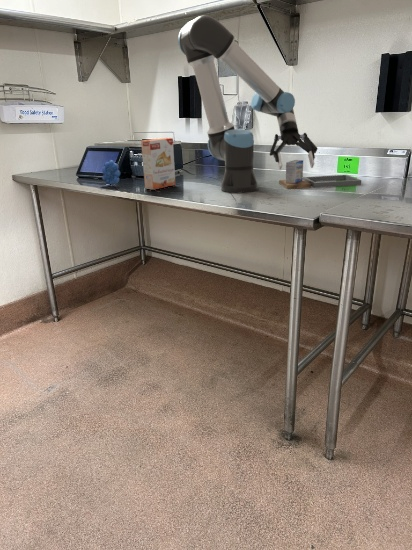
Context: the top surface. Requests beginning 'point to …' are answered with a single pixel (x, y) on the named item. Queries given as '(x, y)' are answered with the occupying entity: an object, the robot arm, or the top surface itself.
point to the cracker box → (158, 163)
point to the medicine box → (294, 171)
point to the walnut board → (297, 185)
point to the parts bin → (349, 182)
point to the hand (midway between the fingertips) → (296, 166)
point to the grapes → (111, 172)
